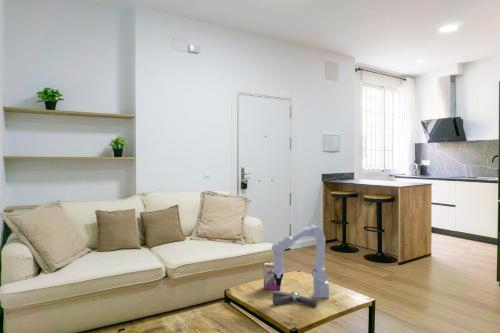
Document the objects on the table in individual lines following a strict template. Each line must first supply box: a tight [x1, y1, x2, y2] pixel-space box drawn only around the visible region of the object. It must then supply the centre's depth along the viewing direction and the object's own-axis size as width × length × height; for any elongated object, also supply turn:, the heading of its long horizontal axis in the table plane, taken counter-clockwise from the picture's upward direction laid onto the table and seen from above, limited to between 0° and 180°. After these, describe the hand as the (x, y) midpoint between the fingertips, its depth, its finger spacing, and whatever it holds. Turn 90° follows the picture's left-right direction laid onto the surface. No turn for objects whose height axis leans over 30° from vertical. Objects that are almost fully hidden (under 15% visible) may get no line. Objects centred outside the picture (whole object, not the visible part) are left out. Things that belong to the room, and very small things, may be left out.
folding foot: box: [272, 290, 291, 298], centre depth 203 cm, size 11×3×3 cm, turn 61°
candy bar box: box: [263, 262, 282, 291], centre depth 218 cm, size 11×5×16 cm, turn 78°
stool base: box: [272, 291, 318, 309], centre depth 196 cm, size 26×11×4 cm, turn 81°
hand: (278, 285), depth 199 cm, fingers closed
